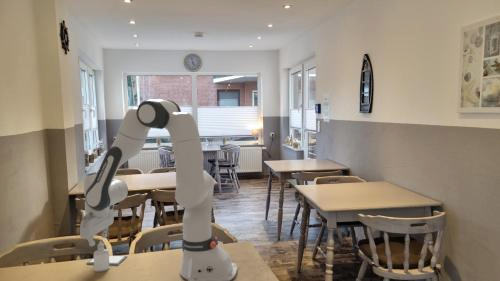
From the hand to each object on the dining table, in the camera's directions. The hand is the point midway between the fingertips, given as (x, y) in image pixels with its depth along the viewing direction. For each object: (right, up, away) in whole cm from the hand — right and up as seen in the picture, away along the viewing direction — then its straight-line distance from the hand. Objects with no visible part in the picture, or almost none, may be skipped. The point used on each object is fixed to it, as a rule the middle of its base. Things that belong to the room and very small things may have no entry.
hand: (98, 241), depth 145 cm
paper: (+3, -9, +1) cm, 9 cm away
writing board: (+3, -9, +1) cm, 9 cm away
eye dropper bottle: (+4, -10, -7) cm, 13 cm away
